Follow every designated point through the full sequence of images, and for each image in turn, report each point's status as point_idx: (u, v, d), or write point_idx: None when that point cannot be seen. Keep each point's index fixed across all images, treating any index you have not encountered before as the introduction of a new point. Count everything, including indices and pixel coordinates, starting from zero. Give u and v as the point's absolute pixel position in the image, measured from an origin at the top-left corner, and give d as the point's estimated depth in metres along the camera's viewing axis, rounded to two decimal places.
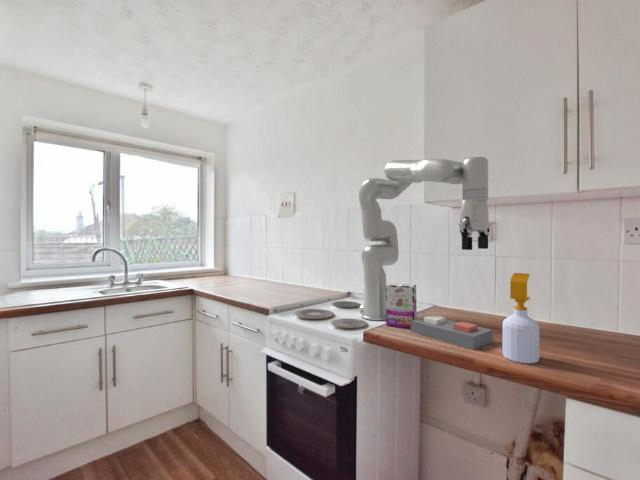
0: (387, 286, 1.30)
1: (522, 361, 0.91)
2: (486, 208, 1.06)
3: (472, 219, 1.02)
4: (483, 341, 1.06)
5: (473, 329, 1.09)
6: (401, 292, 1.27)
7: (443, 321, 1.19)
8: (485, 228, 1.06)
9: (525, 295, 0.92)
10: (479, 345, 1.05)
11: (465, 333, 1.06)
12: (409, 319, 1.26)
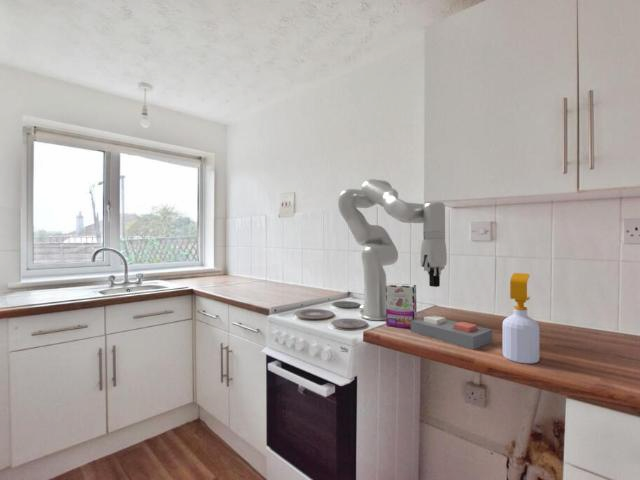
0: (387, 286, 1.30)
1: (522, 361, 0.91)
2: (444, 247, 1.20)
3: (430, 258, 1.16)
4: (483, 341, 1.06)
5: (473, 329, 1.09)
6: (401, 292, 1.27)
7: (443, 321, 1.19)
8: (443, 264, 1.20)
9: (525, 295, 0.92)
10: (479, 345, 1.05)
11: (465, 333, 1.06)
12: (409, 319, 1.26)
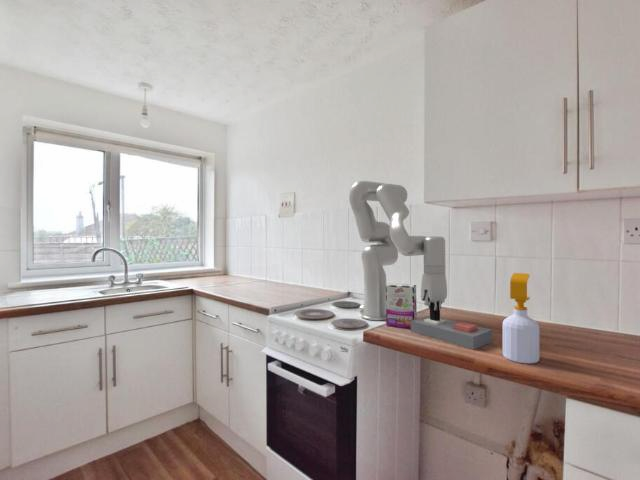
0: (387, 286, 1.30)
1: (522, 361, 0.91)
2: (444, 280, 1.20)
3: (430, 293, 1.16)
4: (483, 341, 1.06)
5: (473, 329, 1.09)
6: (401, 292, 1.27)
7: None
8: (443, 298, 1.20)
9: (525, 295, 0.92)
10: (479, 345, 1.05)
11: (465, 333, 1.06)
12: (409, 319, 1.26)
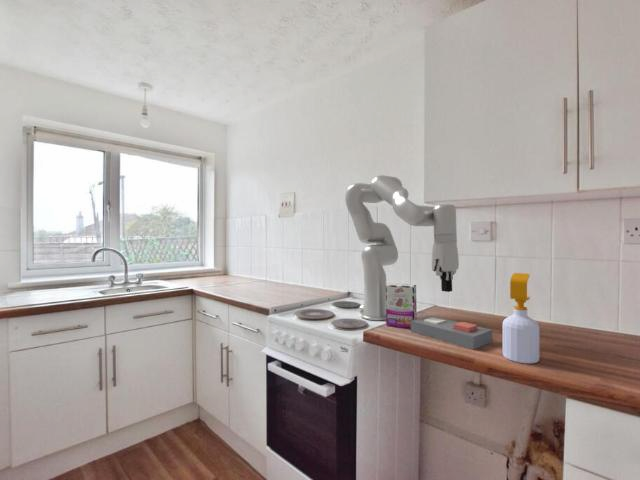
0: (387, 286, 1.30)
1: (522, 361, 0.91)
2: (455, 250, 1.16)
3: (442, 261, 1.12)
4: (483, 341, 1.06)
5: (473, 329, 1.09)
6: (401, 292, 1.27)
7: None
8: (455, 268, 1.16)
9: (525, 295, 0.92)
10: (479, 345, 1.05)
11: (465, 333, 1.06)
12: (409, 319, 1.26)
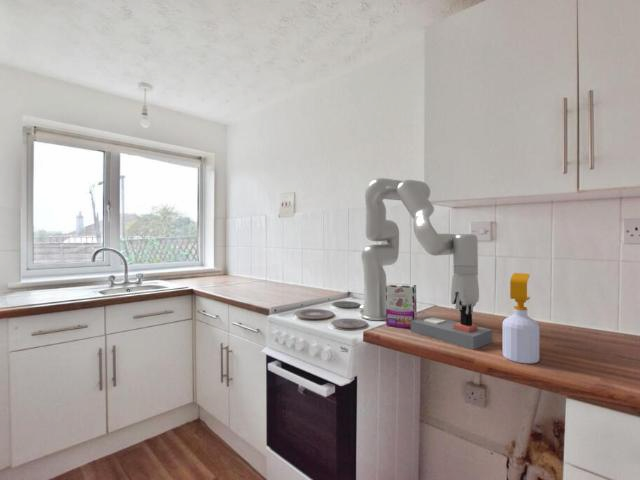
0: (387, 286, 1.30)
1: (522, 361, 0.91)
2: (476, 282, 1.10)
3: (462, 295, 1.06)
4: (483, 341, 1.06)
5: (473, 329, 1.09)
6: (401, 292, 1.27)
7: None
8: (475, 301, 1.11)
9: (525, 295, 0.92)
10: (479, 345, 1.05)
11: (465, 333, 1.06)
12: (409, 319, 1.26)
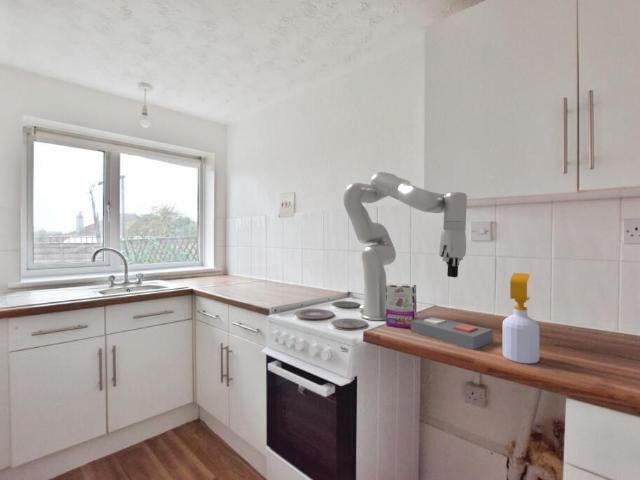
0: (387, 286, 1.30)
1: (522, 361, 0.91)
2: (464, 237, 1.19)
3: (450, 248, 1.16)
4: (483, 341, 1.06)
5: None
6: (401, 292, 1.27)
7: None
8: (462, 255, 1.20)
9: (525, 295, 0.92)
10: (479, 345, 1.05)
11: (465, 333, 1.06)
12: (409, 319, 1.26)
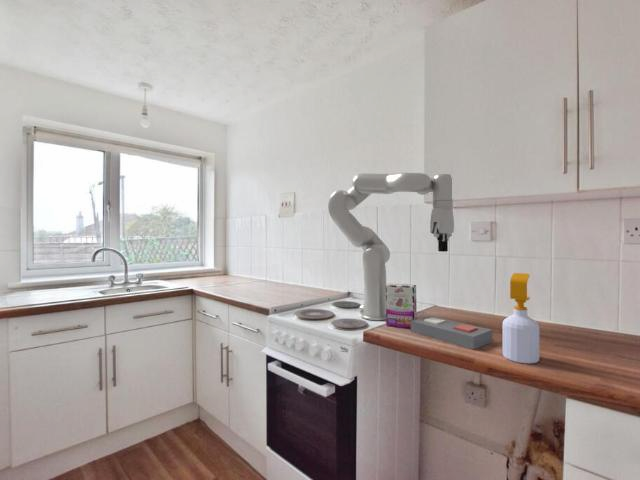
0: (387, 286, 1.30)
1: (522, 361, 0.91)
2: (451, 215, 1.31)
3: (439, 224, 1.28)
4: (483, 341, 1.06)
5: None
6: (401, 292, 1.27)
7: None
8: (451, 231, 1.32)
9: (525, 295, 0.92)
10: (479, 345, 1.05)
11: (465, 333, 1.06)
12: (409, 319, 1.26)
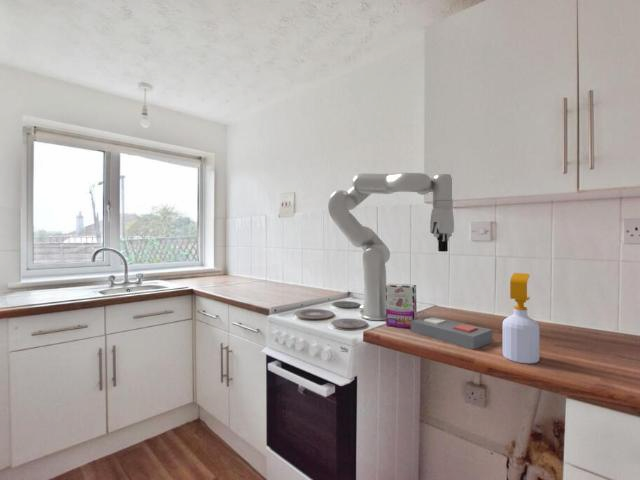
0: (387, 286, 1.30)
1: (522, 361, 0.91)
2: (451, 215, 1.31)
3: (439, 224, 1.28)
4: (483, 341, 1.06)
5: None
6: (401, 292, 1.27)
7: None
8: (451, 231, 1.32)
9: (525, 295, 0.92)
10: (479, 345, 1.05)
11: (465, 333, 1.06)
12: (409, 319, 1.26)
